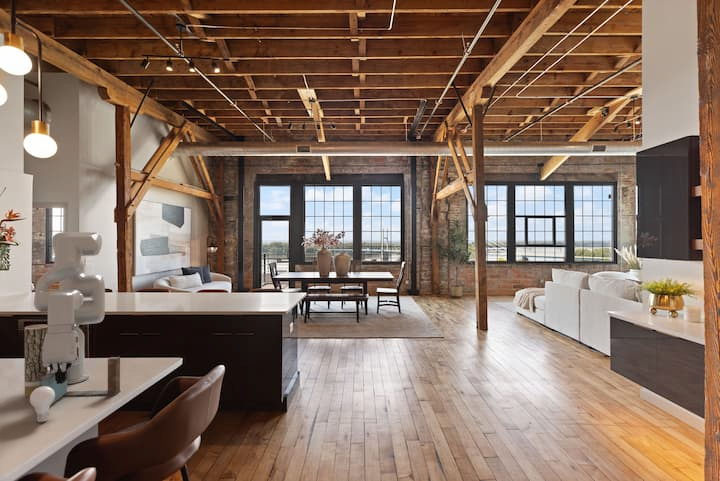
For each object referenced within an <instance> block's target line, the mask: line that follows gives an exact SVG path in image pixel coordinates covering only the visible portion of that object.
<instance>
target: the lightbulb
mask: <svg viewBox="0 0 720 481" xmlns="http://www.w3.org/2000/svg"><path fill="white" fill-rule="evenodd" d="M54 398H55V392H54V390H53V389H52V388H51V387H48V386H41V387H38V388H36V389H35V390H34V391H33V392H32V393H31V395H30V398H29V403H30V404H31V406H32V407H34V409H35V413H36V415H37V419H36V420H37V422H38V423H41V424H42V423H45V422H47V421H48V420H49V418H48V417H49V415H48V414H49V413H48V412H49V410H50V407H51V405H52V404H53V403H52V402H53V400H54ZM51 403H52V404H51Z"/></svg>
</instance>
